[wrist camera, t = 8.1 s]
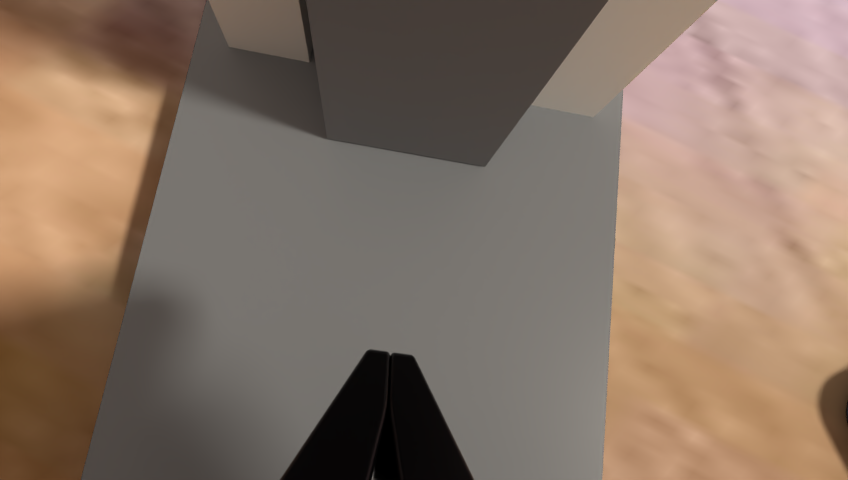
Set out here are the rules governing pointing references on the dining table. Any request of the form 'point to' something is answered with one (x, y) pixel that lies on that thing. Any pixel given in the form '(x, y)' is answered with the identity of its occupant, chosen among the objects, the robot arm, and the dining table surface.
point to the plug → (438, 69)
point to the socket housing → (371, 263)
